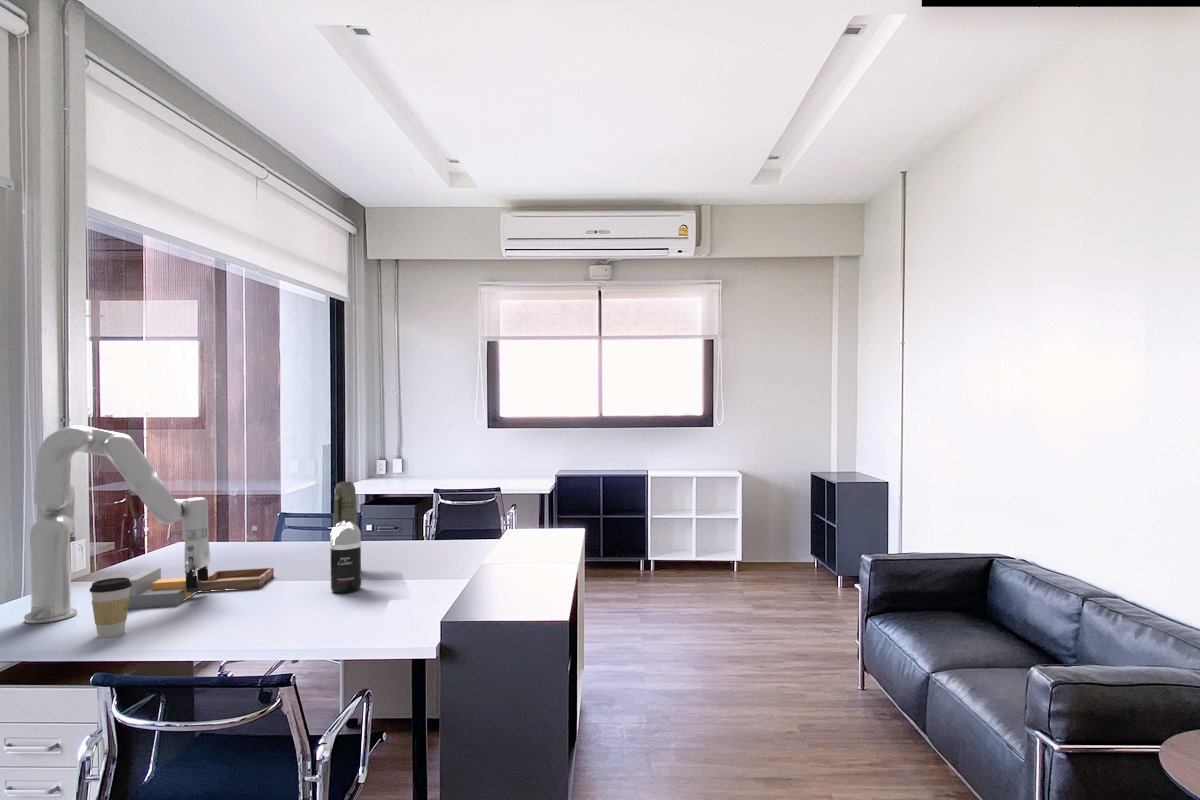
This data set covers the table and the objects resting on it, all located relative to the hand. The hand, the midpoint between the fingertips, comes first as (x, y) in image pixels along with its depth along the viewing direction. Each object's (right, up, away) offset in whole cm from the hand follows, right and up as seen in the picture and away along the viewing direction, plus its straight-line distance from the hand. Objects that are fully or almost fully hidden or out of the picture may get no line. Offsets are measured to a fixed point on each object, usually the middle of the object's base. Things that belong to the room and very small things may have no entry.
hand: (197, 584), depth 230 cm
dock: (-10, -5, -2) cm, 12 cm away
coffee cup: (-2, -4, -38) cm, 39 cm away
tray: (+5, -5, +17) cm, 18 cm away
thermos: (+38, -5, +34) cm, 51 cm away
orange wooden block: (-6, -5, -1) cm, 8 cm away
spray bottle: (+49, -4, +5) cm, 49 cm away
